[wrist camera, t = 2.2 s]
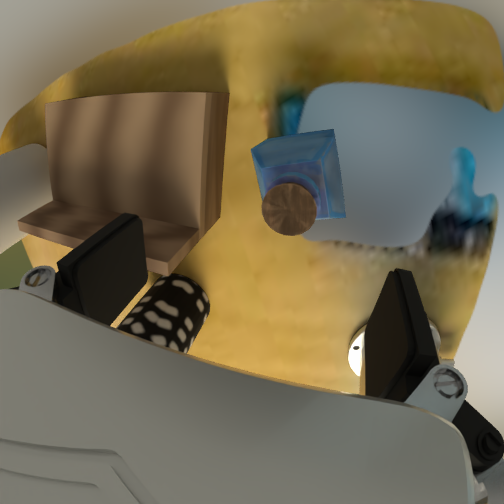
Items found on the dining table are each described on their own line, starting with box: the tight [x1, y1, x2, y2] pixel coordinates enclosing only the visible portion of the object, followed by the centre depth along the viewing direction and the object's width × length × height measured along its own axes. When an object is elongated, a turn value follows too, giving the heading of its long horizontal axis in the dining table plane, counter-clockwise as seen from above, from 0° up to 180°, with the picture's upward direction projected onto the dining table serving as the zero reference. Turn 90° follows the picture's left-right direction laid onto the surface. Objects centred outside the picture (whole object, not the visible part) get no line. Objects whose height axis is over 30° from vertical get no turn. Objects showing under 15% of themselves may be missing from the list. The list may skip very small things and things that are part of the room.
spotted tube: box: [116, 274, 210, 354], centre depth 31 cm, size 8×8×20 cm
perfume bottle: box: [251, 129, 346, 236], centre depth 22 cm, size 6×6×12 cm
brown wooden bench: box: [17, 92, 229, 276], centre depth 25 cm, size 20×13×12 cm, turn 84°
